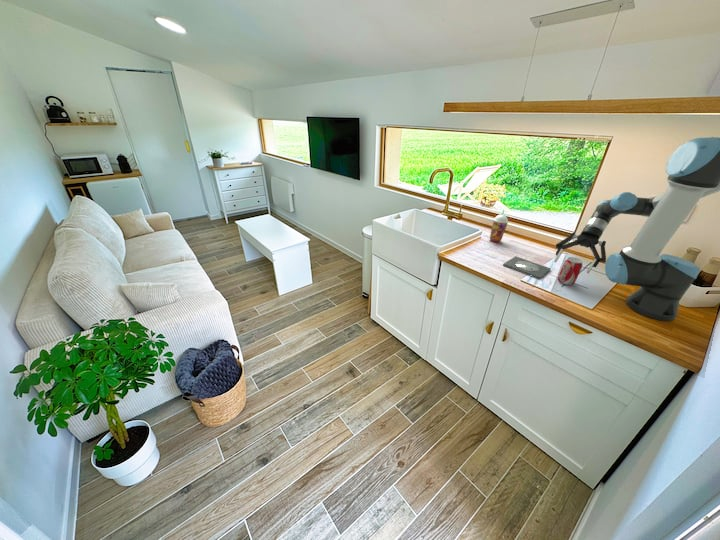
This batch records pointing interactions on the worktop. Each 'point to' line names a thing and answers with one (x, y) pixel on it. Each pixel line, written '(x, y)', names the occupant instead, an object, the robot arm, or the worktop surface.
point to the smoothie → (498, 228)
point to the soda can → (570, 271)
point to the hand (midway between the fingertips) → (571, 266)
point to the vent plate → (527, 267)
